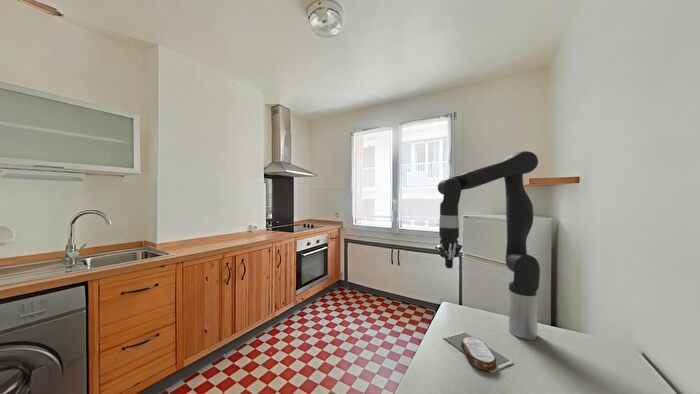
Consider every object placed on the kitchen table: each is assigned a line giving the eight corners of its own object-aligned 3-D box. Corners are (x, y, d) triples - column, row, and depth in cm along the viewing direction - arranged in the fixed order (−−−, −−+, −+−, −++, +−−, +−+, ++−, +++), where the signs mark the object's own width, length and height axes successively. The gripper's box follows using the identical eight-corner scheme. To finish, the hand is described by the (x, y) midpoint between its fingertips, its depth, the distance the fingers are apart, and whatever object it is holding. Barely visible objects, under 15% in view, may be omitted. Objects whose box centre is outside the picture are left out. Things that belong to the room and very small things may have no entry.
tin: (474, 369, 75) (501, 373, 74) (474, 359, 75) (502, 363, 74) (457, 341, 90) (480, 344, 89) (458, 333, 90) (481, 336, 89)
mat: (463, 332, 97) (463, 331, 97) (513, 363, 78) (513, 362, 78) (443, 338, 93) (443, 337, 93) (491, 373, 74) (491, 371, 74)
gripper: (453, 224, 103) (453, 264, 103) (430, 225, 98) (430, 267, 98) (468, 226, 96) (468, 268, 96) (443, 227, 91) (443, 272, 91)
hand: (448, 267), depth 97 cm, fingers closed
